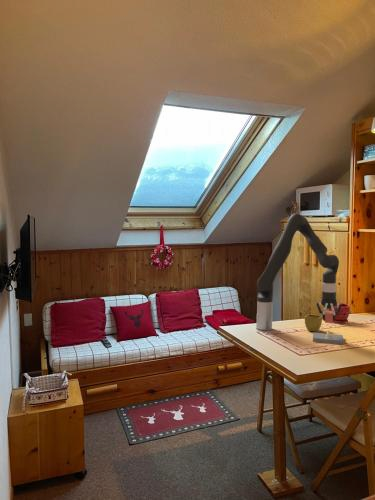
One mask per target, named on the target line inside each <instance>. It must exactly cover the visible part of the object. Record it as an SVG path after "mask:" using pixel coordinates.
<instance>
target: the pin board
mask: <svg viewBox="0 0 375 500" xmlns="http://www.w3.org/2000/svg"><path fill="white" fill-rule="evenodd" d="M343 335H344V334H338V333H337V334H336V333H330V330H329V329H327V330H326V333H322V332H312V342H314V343H325V344H336V345H345V339H344V336H343Z"/></svg>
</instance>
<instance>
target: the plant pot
mask: <svg viewBox="0 0 375 500" xmlns="http://www.w3.org/2000/svg"><path fill="white" fill-rule="evenodd" d="M340 303H341V304H342V306H341V309H340V311H339V314H336V315H335V321H334V322H333V323H334V324H346V323H348V322H349V319H348V318H349V316H350V308H351V307H350V304H348V303H343V302H340ZM337 309H338V307H337V304H336V306H335V307H334V311H335V312H336V311H337ZM328 311H332V309H328Z"/></svg>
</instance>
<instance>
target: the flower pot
mask: <svg viewBox="0 0 375 500" xmlns="http://www.w3.org/2000/svg"><path fill="white" fill-rule="evenodd" d="M322 323H323V319H322V315H318V314H311V313H309V314H306V315H304V324H305V328H306V329H307V330H308V331H309V332H310V331H311V332H314V333H317V332H318V331H319V330H320V328H321V326H322Z"/></svg>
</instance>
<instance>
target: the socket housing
mask: <svg viewBox="0 0 375 500" xmlns="http://www.w3.org/2000/svg"><path fill="white" fill-rule="evenodd" d="M324 323H325V324H333V323H334V322H333V312H332V311H329V310H326V312H325V321H324Z"/></svg>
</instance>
